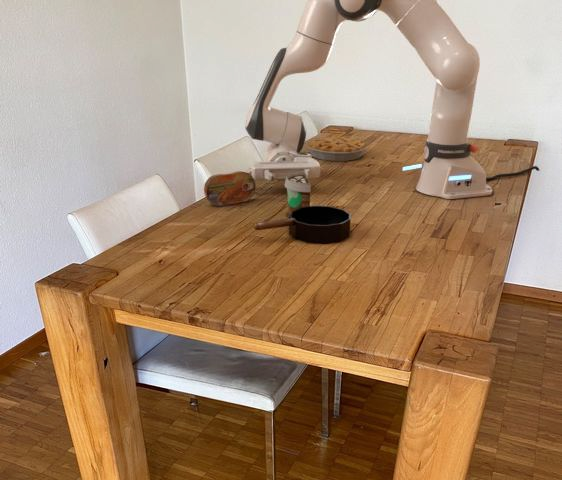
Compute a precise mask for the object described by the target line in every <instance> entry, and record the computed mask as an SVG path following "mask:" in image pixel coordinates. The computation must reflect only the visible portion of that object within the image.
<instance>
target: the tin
mask: <svg viewBox="0 0 562 480" xmlns="http://www.w3.org/2000/svg"><path fill="white" fill-rule="evenodd" d="M256 189H257V188H256V180H255V179H254V178H253V177H252V174H250V173H249V172H246V171H241V170H239V171H232V172H225V173H218V174H213V175H211V176H209V177H208V178H207V179H206V181H205V182H204V186H203V194H204V197H205V199H206V200H207V201H208V202H209V203H210V204H212V205H213V206H216V207H224V206H229V205H235V204H241V203H246V202H247V201H250V200H251V199H252V198H253V196H254V194H255V192H256Z"/></svg>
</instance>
